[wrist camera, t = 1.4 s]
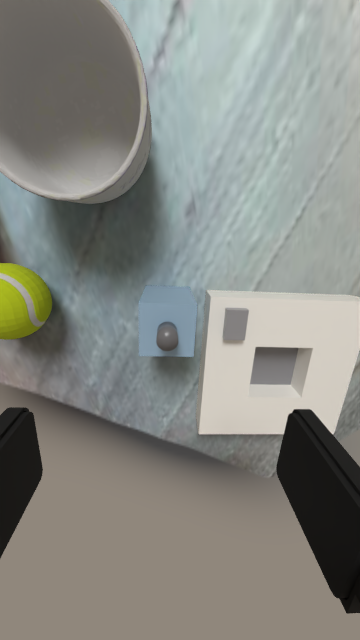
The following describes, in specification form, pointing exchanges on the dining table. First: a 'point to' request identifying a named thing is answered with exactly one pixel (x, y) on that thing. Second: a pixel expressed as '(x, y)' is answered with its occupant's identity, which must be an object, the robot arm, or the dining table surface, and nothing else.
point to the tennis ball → (22, 301)
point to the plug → (167, 321)
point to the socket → (274, 359)
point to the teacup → (71, 100)
